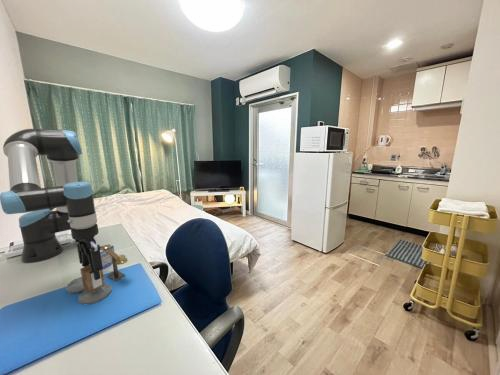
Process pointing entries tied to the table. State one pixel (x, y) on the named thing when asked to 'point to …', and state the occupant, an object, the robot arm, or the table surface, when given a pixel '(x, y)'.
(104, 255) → the medicine box
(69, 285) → the dish
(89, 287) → the block
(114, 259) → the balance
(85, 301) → the dish
